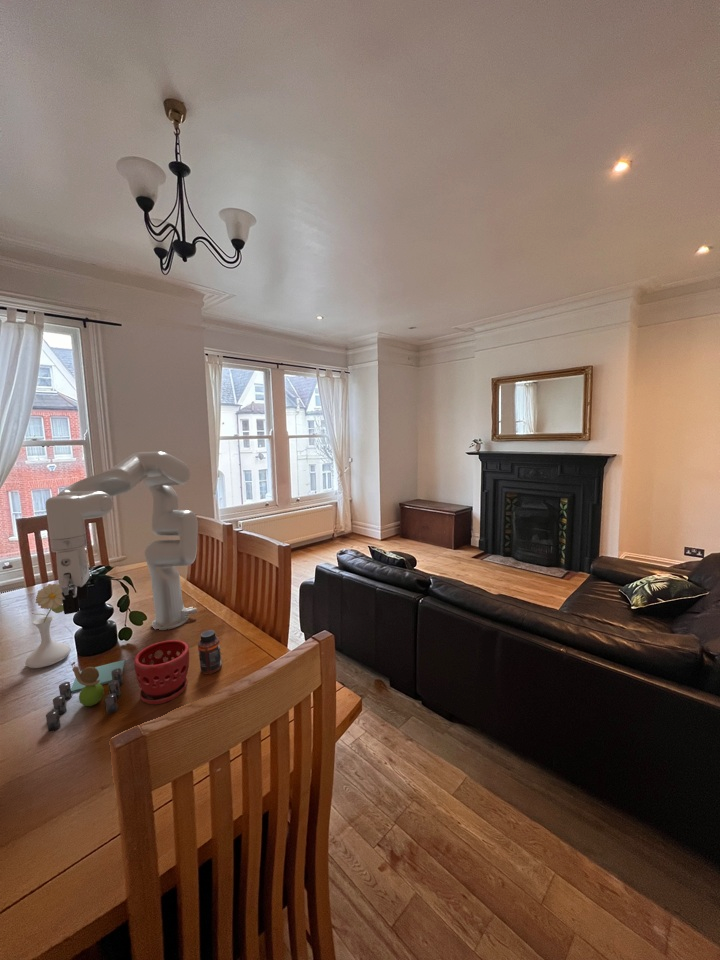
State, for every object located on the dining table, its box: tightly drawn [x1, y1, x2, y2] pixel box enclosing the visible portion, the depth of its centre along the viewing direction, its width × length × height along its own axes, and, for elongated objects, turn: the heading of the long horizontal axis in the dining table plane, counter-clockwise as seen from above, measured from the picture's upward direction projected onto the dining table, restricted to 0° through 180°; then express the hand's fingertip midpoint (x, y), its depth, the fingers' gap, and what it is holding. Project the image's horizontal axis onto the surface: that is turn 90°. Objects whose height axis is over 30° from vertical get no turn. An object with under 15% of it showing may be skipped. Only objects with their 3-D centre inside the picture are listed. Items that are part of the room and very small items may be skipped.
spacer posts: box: [45, 668, 124, 733], centre depth 101 cm, size 14×14×4 cm
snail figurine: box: [70, 661, 105, 707], centre depth 101 cm, size 5×6×12 cm
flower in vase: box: [24, 583, 72, 669], centre depth 121 cm, size 13×11×25 cm
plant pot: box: [134, 639, 190, 705], centre depth 104 cm, size 13×13×12 cm
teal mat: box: [71, 659, 126, 694], centre depth 113 cm, size 12×10×1 cm
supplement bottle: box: [197, 629, 223, 675], centre depth 114 cm, size 6×6×11 cm
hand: (76, 605), depth 102 cm, fingers open, 9 cm apart
